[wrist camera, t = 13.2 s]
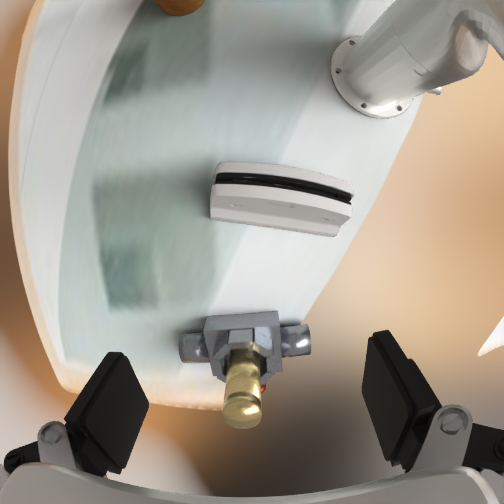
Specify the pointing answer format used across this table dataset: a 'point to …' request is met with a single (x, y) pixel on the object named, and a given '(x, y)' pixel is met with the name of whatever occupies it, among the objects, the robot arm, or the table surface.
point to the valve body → (245, 342)
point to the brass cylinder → (243, 389)
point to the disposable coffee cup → (179, 6)
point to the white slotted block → (280, 198)
